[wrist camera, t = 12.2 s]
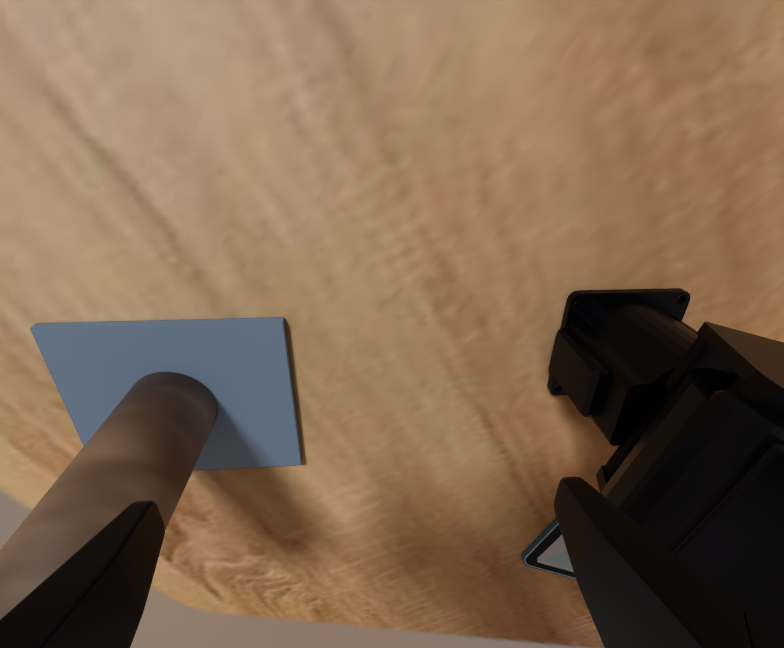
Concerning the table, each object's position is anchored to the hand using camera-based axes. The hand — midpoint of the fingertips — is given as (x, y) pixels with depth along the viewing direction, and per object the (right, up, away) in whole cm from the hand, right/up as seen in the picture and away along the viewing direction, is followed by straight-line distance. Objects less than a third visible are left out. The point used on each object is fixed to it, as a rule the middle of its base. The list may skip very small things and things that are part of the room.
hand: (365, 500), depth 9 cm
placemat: (-11, 0, +14) cm, 18 cm away
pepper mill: (-11, -1, +14) cm, 18 cm away
